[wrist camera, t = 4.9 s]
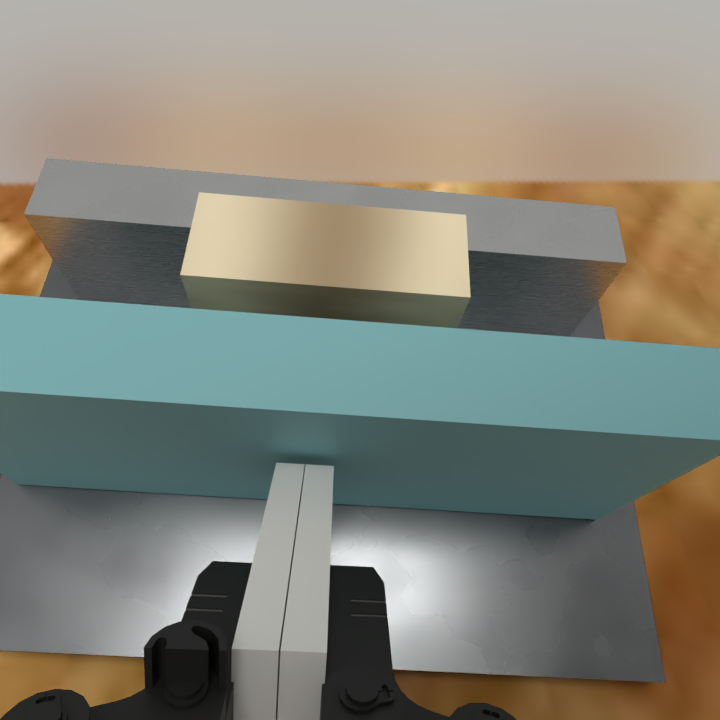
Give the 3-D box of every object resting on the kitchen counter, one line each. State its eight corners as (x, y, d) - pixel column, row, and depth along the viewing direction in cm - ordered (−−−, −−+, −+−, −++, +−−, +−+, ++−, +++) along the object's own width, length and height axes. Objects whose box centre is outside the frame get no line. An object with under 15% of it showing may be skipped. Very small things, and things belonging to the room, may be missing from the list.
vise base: (582, 286, 27) (650, 189, 22) (646, 681, 20) (776, 686, 14) (74, 246, 26) (11, 134, 21) (-64, 647, 19) (-219, 637, 13)
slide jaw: (587, 452, 22) (718, 347, 15) (597, 519, 21) (745, 442, 14) (39, 415, 21) (-99, 286, 14) (17, 484, 20) (-145, 381, 13)
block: (426, 332, 24) (465, 214, 18) (427, 399, 23) (470, 297, 16) (228, 317, 24) (198, 192, 17) (216, 385, 22) (179, 274, 16)
